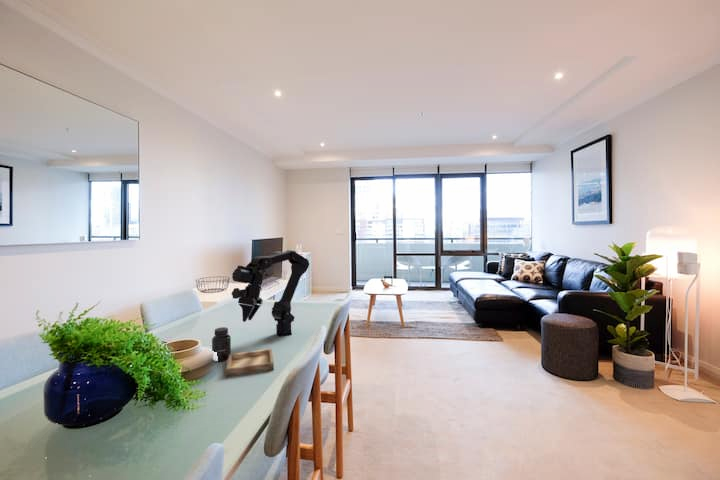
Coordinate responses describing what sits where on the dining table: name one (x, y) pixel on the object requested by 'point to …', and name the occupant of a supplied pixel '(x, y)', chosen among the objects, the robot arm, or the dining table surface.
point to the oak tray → (249, 362)
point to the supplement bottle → (221, 343)
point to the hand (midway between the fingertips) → (246, 320)
